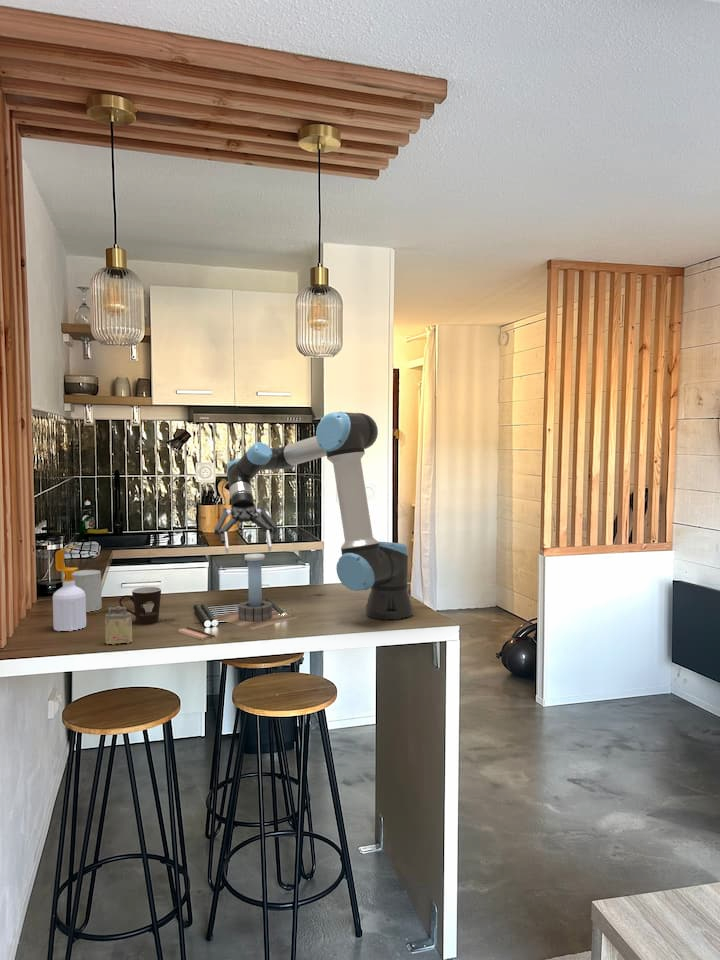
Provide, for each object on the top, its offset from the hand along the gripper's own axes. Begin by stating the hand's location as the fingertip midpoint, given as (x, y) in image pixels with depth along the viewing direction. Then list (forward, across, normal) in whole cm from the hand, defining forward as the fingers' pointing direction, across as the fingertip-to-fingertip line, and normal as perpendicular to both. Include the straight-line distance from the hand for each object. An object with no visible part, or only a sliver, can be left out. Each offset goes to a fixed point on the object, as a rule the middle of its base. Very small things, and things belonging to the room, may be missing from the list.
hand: (248, 549), depth 224 cm
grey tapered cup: (-1, +50, -31) cm, 59 cm away
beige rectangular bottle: (+30, +39, 0) cm, 49 cm away
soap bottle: (+15, +53, -15) cm, 57 cm away
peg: (+21, 0, -6) cm, 22 cm away
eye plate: (+22, 0, -7) cm, 23 cm away
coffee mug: (+15, +33, -15) cm, 39 cm away
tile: (+27, +15, -2) cm, 31 cm away
